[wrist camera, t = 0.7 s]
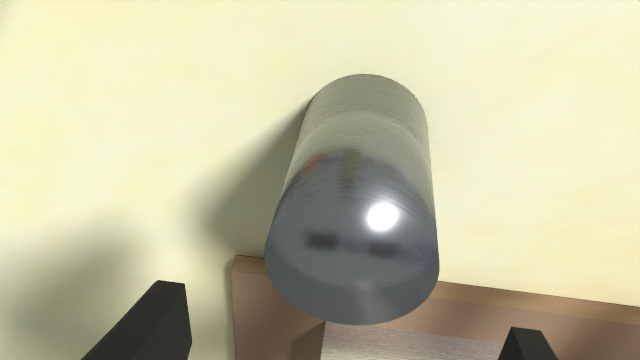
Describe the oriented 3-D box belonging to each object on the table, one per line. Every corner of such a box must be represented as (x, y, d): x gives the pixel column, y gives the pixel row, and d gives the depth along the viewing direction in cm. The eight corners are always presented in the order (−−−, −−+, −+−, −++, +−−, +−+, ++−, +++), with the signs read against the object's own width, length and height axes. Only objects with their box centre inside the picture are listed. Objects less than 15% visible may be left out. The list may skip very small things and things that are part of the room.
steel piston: (438, 81, 18) (456, 209, 12) (416, 188, 20) (423, 335, 15) (306, 67, 18) (263, 186, 12) (301, 174, 21) (264, 313, 15)
